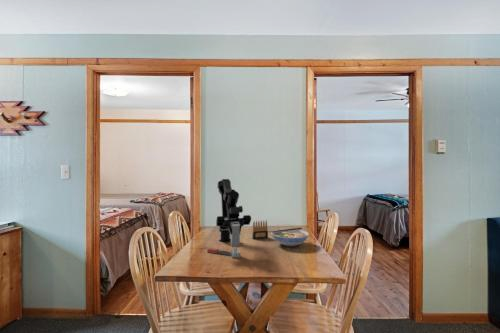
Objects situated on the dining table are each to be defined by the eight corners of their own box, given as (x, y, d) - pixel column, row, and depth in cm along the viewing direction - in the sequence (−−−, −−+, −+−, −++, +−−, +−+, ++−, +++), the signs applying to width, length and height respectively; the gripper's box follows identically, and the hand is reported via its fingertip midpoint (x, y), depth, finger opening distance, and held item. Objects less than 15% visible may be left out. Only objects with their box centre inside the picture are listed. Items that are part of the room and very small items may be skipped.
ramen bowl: (280, 252, 149) (280, 237, 149) (263, 242, 170) (263, 229, 170) (318, 247, 158) (318, 233, 158) (297, 238, 179) (297, 226, 179)
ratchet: (209, 251, 151) (209, 242, 151) (243, 254, 145) (243, 245, 145) (203, 254, 145) (203, 245, 145) (238, 258, 138) (238, 248, 138)
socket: (230, 245, 144) (230, 222, 144) (238, 244, 145) (238, 222, 145) (232, 247, 140) (232, 224, 140) (239, 246, 141) (239, 223, 141)
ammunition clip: (253, 239, 178) (253, 221, 178) (252, 238, 179) (252, 220, 180) (268, 238, 181) (268, 220, 181) (267, 237, 183) (267, 219, 183)
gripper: (216, 201, 145) (219, 226, 134) (250, 200, 149) (255, 224, 138) (215, 213, 152) (217, 238, 141) (247, 212, 157) (251, 236, 146)
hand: (235, 233), depth 141 cm, fingers closed on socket, 4 cm apart
